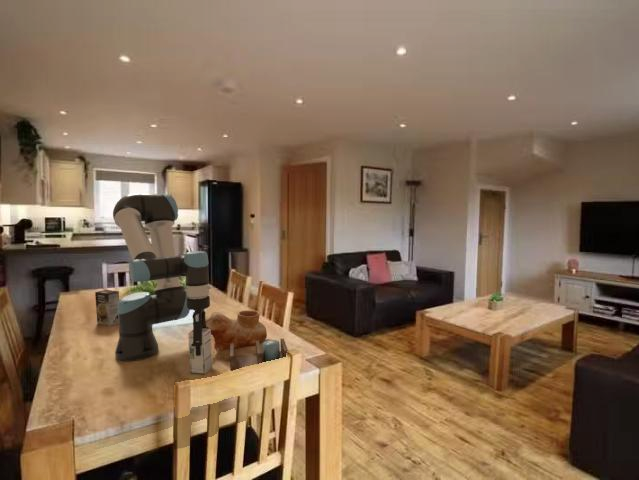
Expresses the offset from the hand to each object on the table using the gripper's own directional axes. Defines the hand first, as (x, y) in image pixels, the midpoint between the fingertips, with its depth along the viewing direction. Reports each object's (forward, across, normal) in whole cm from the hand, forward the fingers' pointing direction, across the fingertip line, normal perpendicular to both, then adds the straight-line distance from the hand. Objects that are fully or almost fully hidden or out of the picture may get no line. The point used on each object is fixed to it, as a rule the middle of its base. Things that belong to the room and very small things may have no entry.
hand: (201, 356), depth 126 cm
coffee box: (+5, +67, +50) cm, 84 cm away
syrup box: (+6, 0, 0) cm, 6 cm away
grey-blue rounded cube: (+4, +1, -25) cm, 25 cm away
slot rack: (+5, +1, -20) cm, 21 cm away
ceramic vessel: (+6, +21, -12) cm, 25 cm away
